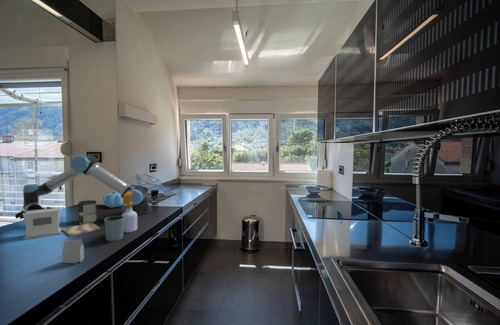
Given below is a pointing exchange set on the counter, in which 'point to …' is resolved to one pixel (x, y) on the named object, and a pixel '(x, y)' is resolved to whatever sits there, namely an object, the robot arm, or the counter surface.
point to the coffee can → (87, 211)
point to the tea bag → (73, 251)
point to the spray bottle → (129, 215)
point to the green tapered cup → (114, 228)
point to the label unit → (42, 223)
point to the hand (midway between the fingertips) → (40, 215)
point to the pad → (80, 229)
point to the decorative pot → (113, 200)
